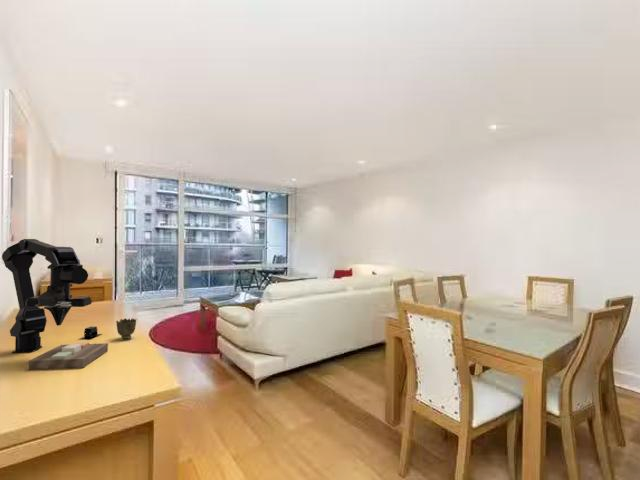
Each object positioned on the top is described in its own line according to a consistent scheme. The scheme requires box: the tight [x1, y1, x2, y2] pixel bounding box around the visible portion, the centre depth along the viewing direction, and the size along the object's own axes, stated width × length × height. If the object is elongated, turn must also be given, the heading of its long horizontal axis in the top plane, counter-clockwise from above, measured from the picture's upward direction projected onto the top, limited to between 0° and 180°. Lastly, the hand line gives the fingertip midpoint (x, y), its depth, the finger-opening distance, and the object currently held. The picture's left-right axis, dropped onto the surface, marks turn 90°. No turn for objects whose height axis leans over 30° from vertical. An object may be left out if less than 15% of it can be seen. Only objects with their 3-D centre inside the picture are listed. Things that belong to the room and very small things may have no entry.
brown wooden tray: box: [28, 342, 109, 371], centre depth 117 cm, size 16×17×3 cm
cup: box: [115, 318, 137, 341], centre depth 143 cm, size 8×7×8 cm
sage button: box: [51, 352, 72, 359], centre depth 112 cm, size 4×4×3 cm
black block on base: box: [77, 325, 103, 341], centre depth 146 cm, size 12×7×5 cm, turn 0°
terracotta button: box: [75, 341, 90, 348], centre depth 123 cm, size 4×4×3 cm
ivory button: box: [62, 343, 81, 353], centre depth 117 cm, size 4×4×3 cm
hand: (58, 325), depth 121 cm, fingers closed
